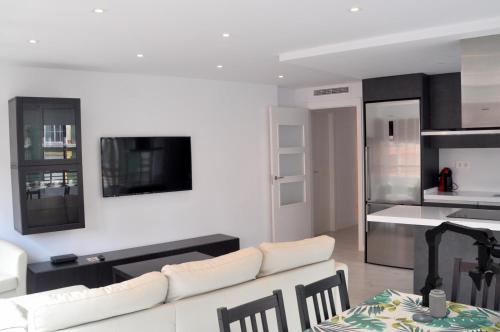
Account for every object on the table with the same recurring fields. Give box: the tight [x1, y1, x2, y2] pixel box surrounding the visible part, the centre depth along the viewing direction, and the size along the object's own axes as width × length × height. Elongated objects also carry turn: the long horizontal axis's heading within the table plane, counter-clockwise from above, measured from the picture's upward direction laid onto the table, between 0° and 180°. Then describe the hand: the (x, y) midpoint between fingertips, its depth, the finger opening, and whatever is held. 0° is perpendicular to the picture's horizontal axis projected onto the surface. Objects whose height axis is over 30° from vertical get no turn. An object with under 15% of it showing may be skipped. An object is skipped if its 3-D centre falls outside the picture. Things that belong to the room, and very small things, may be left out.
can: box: [428, 289, 447, 319], centre depth 231 cm, size 8×8×12 cm
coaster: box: [411, 312, 434, 324], centre depth 228 cm, size 9×9×1 cm
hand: (484, 288), depth 225 cm, fingers open, 9 cm apart
